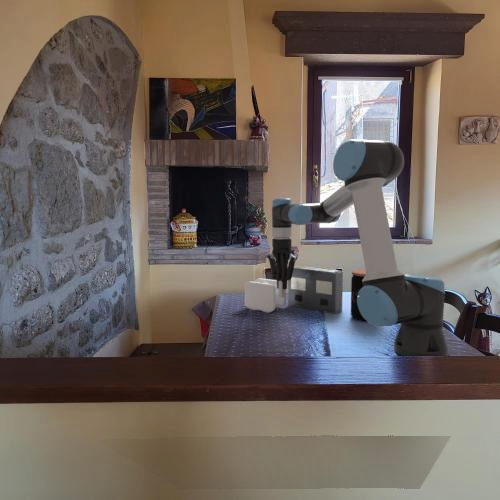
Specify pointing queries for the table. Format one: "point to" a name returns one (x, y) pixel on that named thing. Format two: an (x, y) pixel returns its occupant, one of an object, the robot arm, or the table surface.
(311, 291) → the box
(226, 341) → the table surface
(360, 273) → the coffee jar
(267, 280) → the cable organizer
